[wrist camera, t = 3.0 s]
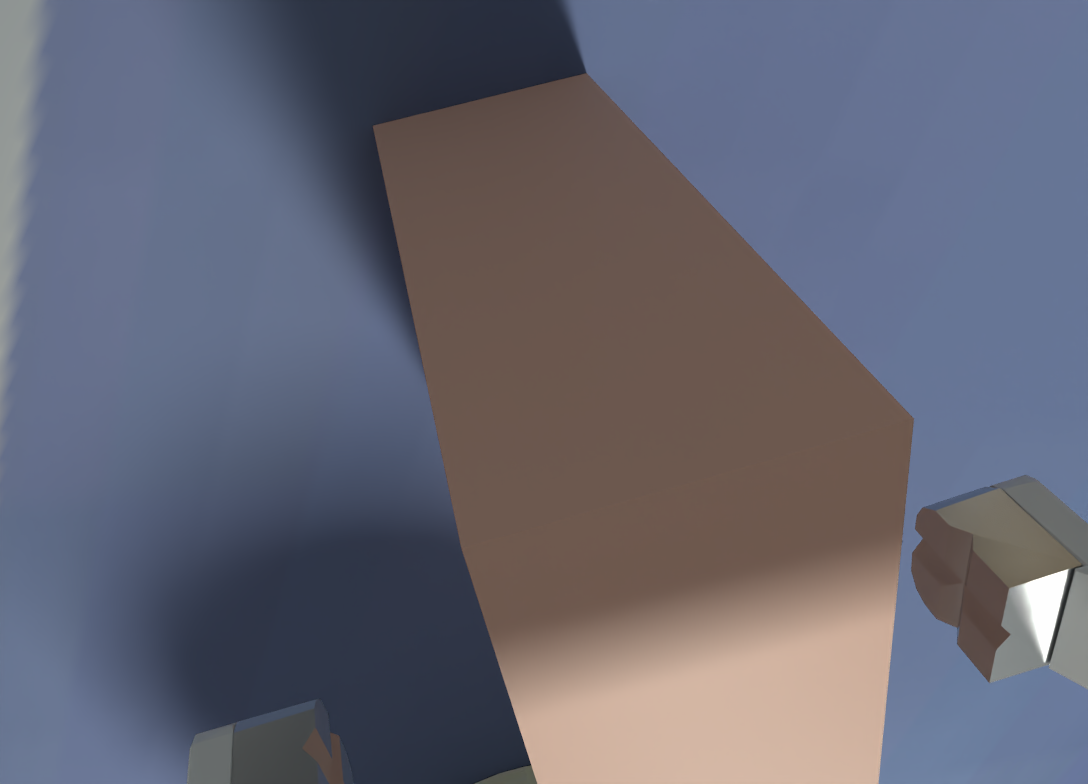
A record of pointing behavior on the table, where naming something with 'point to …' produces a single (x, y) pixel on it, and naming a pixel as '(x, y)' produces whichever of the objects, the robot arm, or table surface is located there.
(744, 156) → the table surface
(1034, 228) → the table surface
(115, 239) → the table surface
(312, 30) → the table surface
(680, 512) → the peach block
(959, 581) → the robot arm
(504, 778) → the reusable coffee cup
